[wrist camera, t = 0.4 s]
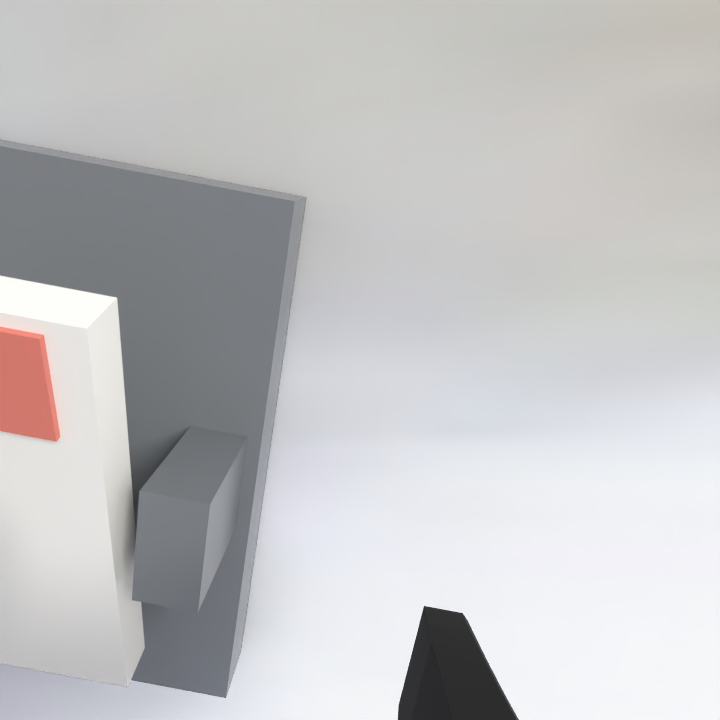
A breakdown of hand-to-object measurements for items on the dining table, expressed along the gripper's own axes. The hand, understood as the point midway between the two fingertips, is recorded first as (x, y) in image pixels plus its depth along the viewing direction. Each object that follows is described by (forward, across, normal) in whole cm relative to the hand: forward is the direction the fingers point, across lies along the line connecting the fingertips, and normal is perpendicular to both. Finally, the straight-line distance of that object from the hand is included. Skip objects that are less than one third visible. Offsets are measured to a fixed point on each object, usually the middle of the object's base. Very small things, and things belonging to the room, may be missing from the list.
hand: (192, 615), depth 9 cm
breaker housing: (+9, +6, +2) cm, 11 cm away
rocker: (+4, +6, +2) cm, 8 cm away
